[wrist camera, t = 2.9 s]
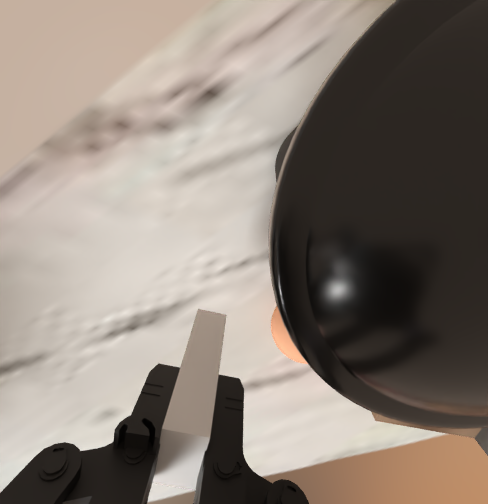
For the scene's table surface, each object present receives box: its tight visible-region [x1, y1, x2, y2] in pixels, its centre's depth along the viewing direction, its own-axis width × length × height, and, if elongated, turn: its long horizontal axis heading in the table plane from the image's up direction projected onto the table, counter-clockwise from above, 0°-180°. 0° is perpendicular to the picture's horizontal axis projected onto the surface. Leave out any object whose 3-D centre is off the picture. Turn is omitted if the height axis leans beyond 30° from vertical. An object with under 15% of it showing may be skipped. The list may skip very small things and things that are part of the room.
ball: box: [271, 306, 308, 364], centre depth 18 cm, size 4×4×4 cm
